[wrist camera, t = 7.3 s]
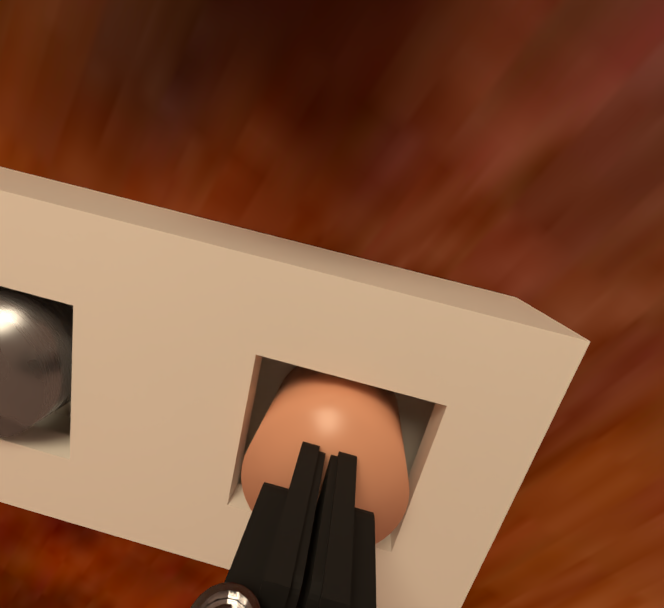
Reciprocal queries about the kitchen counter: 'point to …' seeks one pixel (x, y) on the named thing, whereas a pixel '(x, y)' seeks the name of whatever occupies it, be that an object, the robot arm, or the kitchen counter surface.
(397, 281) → the button console
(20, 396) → the charcoal button
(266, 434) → the light brown rounded piece
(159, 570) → the kitchen counter surface
